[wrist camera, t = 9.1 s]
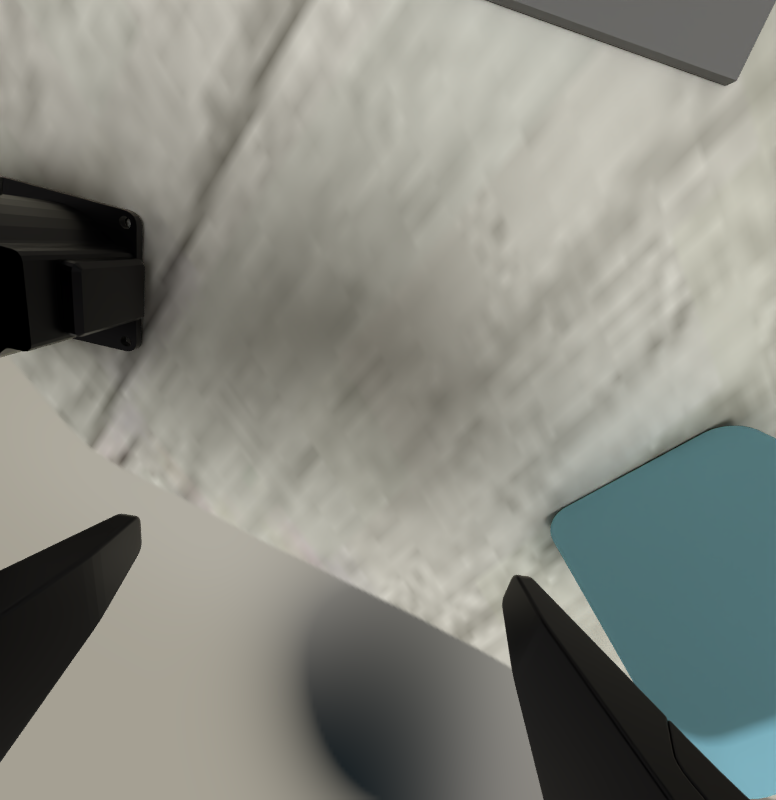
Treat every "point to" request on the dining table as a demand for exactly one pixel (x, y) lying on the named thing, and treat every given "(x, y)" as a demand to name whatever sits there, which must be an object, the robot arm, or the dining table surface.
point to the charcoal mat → (664, 29)
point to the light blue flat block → (692, 591)
